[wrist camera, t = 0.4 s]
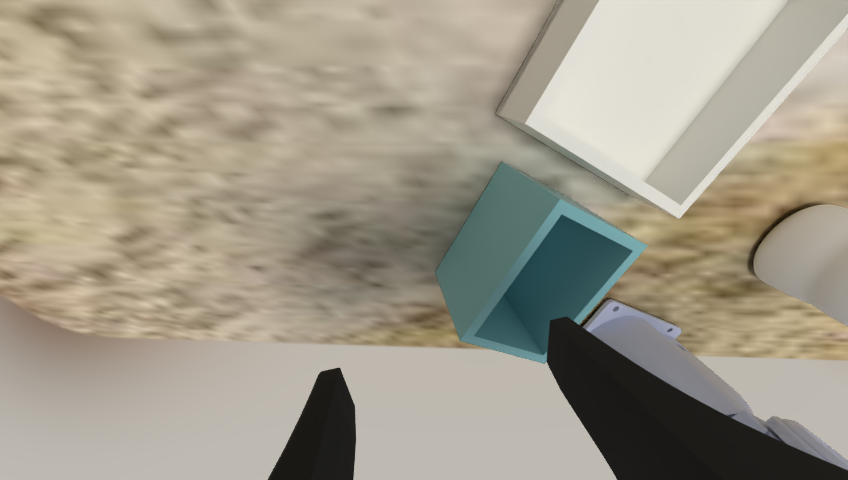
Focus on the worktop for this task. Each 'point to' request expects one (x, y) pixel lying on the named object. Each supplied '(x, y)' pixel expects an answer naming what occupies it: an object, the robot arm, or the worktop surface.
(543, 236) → the teal crate
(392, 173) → the worktop surface
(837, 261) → the water bottle
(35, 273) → the worktop surface
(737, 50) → the white crate
